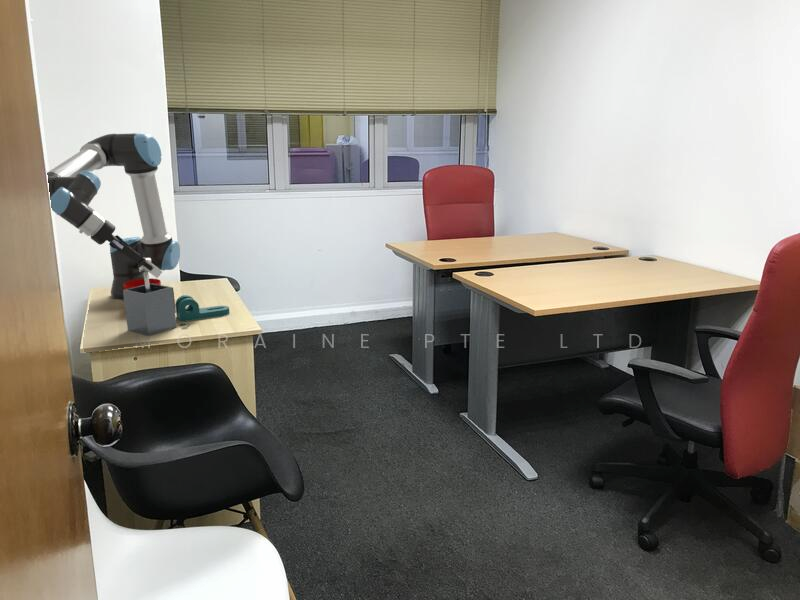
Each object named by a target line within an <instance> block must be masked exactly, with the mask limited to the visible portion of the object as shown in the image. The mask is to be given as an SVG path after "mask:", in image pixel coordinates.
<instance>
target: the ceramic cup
mask: <svg viewBox="0 0 800 600" xmlns="http://www.w3.org/2000/svg"><path fill="white" fill-rule="evenodd" d="M151 283H152V284H158V285H162V282H161V279H158V278H149V284H151ZM142 285H145V280H144V279H136V280H131V281H128V282H125V283H124V290H125V289H129V288H134V287H138V286H142Z"/></svg>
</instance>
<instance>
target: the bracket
mask: <svg viewBox="0 0 800 600" xmlns="http://www.w3.org/2000/svg"><path fill="white" fill-rule="evenodd" d="M175 310H176V313H175V316H176V318H177V319H178V321H179V322H189V321H194V320H196V321H197V320H204V319H210V318H216V317H217V318H218V317H223V316H227V315H229V314H230V306H228V305H214V306H207V307H200V305H199V303H198V302H197V301H196V300H195V299H194V298H193V297H192V296H190V295H188V294H183V295H181V296H178V298H177V299H176V301H175Z"/></svg>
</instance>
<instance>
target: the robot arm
mask: <svg viewBox="0 0 800 600" xmlns="http://www.w3.org/2000/svg"><path fill="white" fill-rule="evenodd" d="M161 150H162V149H161V146H160V145H159V142H158V141H157V139H156V138H155V137H154V136H153V135H151V134H148V133H140V132H137V133H135V132H134V133H108V134H104V135H101V136H98V137H97V138H94V139H92V140H89V141H88V142H87V143H85V144H84V145H82V146H81V147H80V149H79V152H77V153H76V154H73V155H72V156H70V157H69V158H68V159H66V160H65V161H63V162H61V163H59V164H58V165H57V166H55V167H54V168H52V169H50V170H49V171H47V172H46V173H47V175H48V183H49V192H50V200H51V208H52V210H51V211H52V212H53V213H55V214H56V215H57V216H60V218H62V219H63V220H65V221H66V222H67V223H69V224H70V225H72V226H73V227H75V228H76V229H77V230H78V233H80V234H84V235H86V236H87V237H90V239H91V240H92V241H93V242H95V244H97V245H103V244H105V243H106V241H108V242H109V243H108V245H109V254H110V259H111V266H112V267H111V268H112V274H113V275H112V276H113V280H112V284H111V289H110V296H111V298H112V299H114V300H115V299H116V300H124V296H123V290H124V283H125V282H128V281H131V280H136V279H144V272H139V268H140V267H143V268H144V269H145V270H147V271H148V274H150V275H152V276H153V277H155V279H158V278H159V277H160V276H161V275H162V274H163V271H173V270H174V269H175V268H176V267H177V266H178V264H179V261H180V257H181V247H180V243H179V242H178V241H177V240H173V237H172V233H170V232H168V231H167V227H166V223H165V218H164V217H165V216H164V212H163V208H162V207H163V206H162V202H161V198H160V194H159V193H160V192H159V187H158V184H157V179H156V174H155V173H156V172H157V171H158V170H159V167H158V166H159V165H161V162H162V151H161ZM105 167H123V168H124V169H123V170H124V173H125V175H128V176H129V177H130V180H131V184H132V188H133V193H134V197H135V202H136V206H137V207H136V208H137V212H138V216H139V219H140V224H141V225H140V226H141V229H142V234H143V236H142V237H141V238H140V236H133V237H125V238H122V237H120V235H118V234H116V235H114V234H113V233H114V232H115V230H116V226H115V225H114V224H113V223H111V222H110V221H109V220H105V217H104V216H102V215H101V214H99V213H98V212H97V211H96V210H95V209H94V208H92V207H90V206H89V204H91V202H92V201H93V200H94V198H95V196H96V195H97V194H98V193H99V190H100V188H101V186H102V182H101V180H100V178H99V176H98V175H97V174H96V173H94V172H93V171H96V170H97V171H99V170H102V169H103V168H105ZM145 258H151V263H150V262H149V261H147V260H146V259H145Z"/></svg>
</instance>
